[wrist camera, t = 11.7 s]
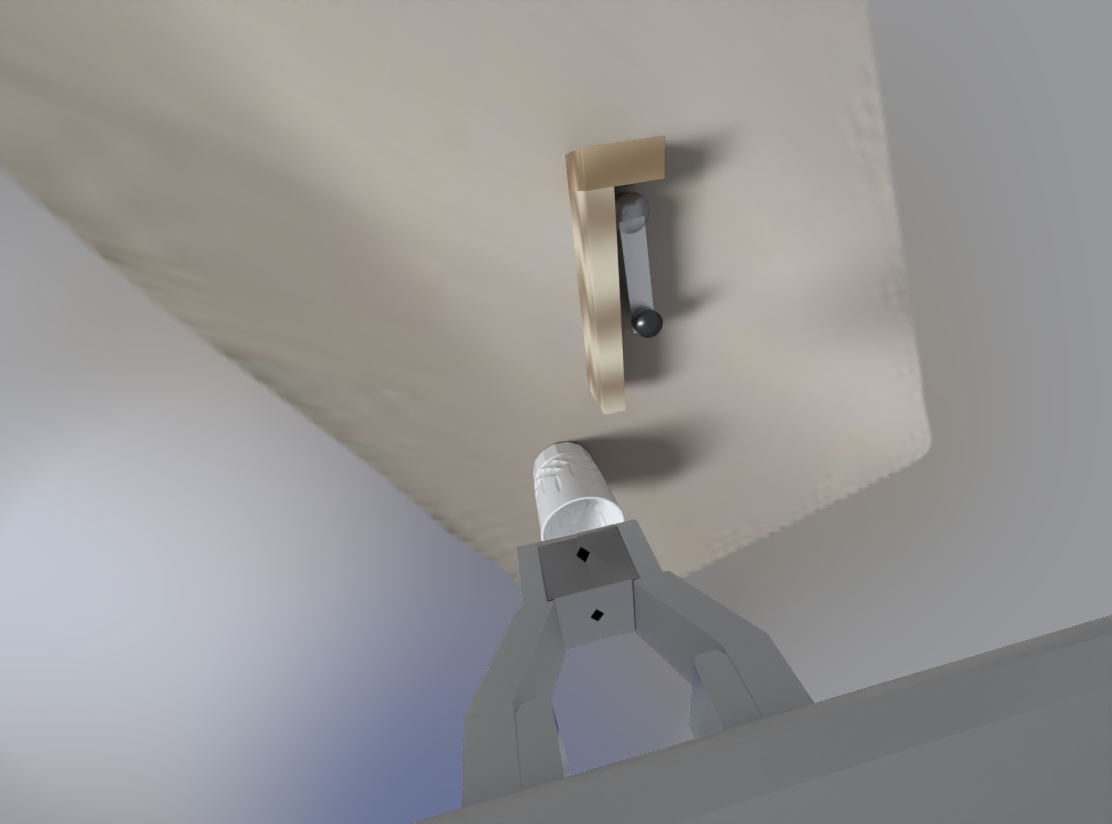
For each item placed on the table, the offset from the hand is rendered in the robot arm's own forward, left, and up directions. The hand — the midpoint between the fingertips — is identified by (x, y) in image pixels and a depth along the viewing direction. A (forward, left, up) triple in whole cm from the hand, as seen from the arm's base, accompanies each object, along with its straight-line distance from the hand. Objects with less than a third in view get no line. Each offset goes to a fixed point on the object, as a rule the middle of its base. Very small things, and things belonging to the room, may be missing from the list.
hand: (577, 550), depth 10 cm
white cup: (+20, +3, -29) cm, 36 cm away
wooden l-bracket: (+1, +10, -29) cm, 31 cm away
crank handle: (-1, +11, -29) cm, 31 cm away
